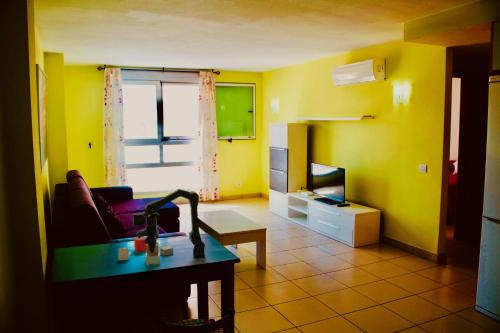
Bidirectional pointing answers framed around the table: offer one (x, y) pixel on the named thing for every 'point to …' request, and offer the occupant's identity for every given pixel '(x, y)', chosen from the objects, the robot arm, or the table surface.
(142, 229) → the robot arm
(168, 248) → the tan wooden block
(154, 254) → the walnut cube
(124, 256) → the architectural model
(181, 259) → the table surface
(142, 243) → the mug
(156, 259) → the plinth block
